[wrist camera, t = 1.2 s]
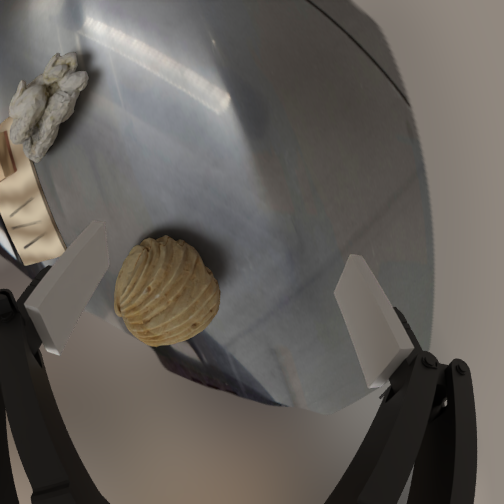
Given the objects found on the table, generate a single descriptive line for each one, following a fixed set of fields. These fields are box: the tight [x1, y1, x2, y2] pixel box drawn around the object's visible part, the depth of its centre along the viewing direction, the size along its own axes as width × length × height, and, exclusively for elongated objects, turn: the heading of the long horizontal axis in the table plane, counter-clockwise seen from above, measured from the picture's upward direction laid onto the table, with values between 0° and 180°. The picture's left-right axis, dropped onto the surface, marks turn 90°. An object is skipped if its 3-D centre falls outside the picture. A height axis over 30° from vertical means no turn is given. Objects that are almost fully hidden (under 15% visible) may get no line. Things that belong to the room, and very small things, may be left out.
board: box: [0, 117, 67, 266], centre depth 34 cm, size 28×14×1 cm, turn 10°
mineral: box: [9, 52, 89, 163], centre depth 25 cm, size 12×17×10 cm
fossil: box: [114, 235, 220, 346], centre depth 38 cm, size 15×17×15 cm
